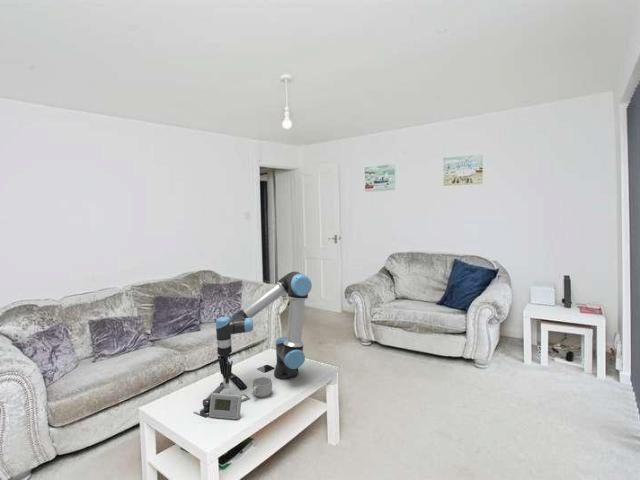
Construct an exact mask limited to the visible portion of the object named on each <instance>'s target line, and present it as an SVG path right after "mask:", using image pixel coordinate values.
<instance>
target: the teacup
mask: <svg viewBox="0 0 640 480" xmlns="http://www.w3.org/2000/svg"><path fill="white" fill-rule="evenodd" d="M272 389H273V379H272V378H271V377H269V376H259V377H255V378H254V379H253V380H252V394H253V395H255V396H257V397H258V398H265V397H267V396H269V395H270V394H271V393H272Z"/></svg>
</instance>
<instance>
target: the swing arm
mask: <svg viewBox="0 0 640 480" xmlns="http://www.w3.org/2000/svg"><path fill="white" fill-rule="evenodd" d="M223 390H225V389H224V384H223V381H222V382H220V383H219V385H218V386H217V387H216V388H215V389H214V390H213V391H212V392H211V393H210V394H209V395H208V396H207V397H206V398H205V399H203V400H202V406H203V407H204V406H205V407H206V406H210V402H211V395H212V393H223Z"/></svg>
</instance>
